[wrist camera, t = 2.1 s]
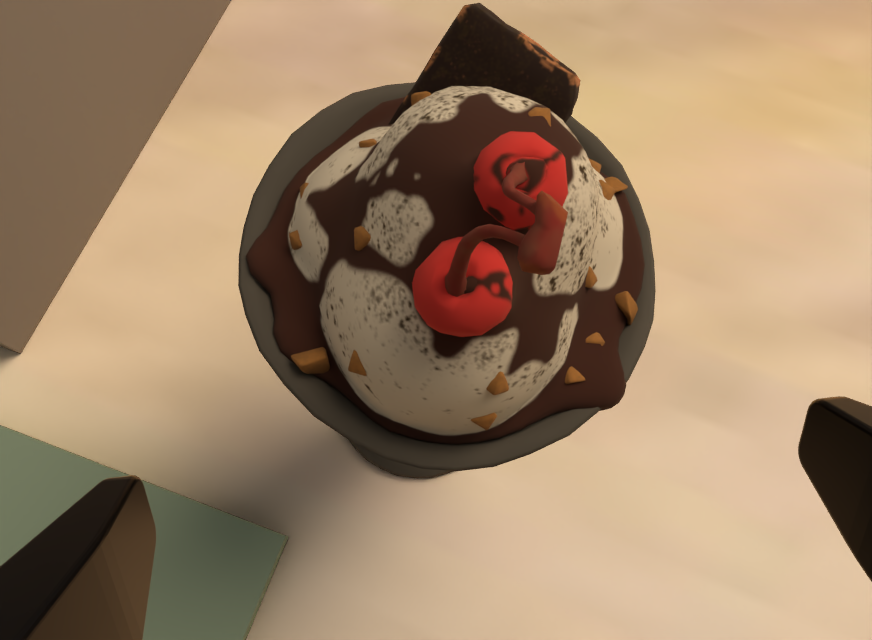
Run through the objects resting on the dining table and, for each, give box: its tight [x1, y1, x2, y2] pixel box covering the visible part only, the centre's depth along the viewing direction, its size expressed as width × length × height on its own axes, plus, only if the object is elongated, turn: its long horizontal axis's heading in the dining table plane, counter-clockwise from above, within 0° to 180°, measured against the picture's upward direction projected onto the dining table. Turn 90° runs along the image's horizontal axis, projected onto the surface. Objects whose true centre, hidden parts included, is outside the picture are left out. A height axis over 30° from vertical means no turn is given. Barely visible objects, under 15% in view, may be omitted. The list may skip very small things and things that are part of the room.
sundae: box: [238, 3, 655, 478], centre depth 13 cm, size 7×7×15 cm
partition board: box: [0, 0, 231, 354], centre depth 18 cm, size 16×2×10 cm, turn 160°
